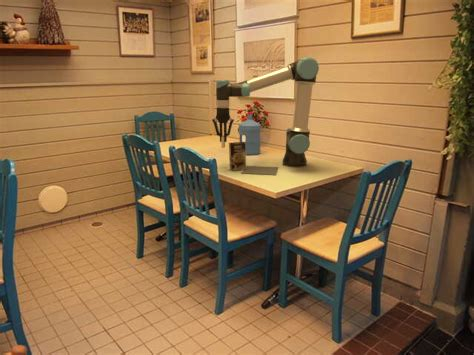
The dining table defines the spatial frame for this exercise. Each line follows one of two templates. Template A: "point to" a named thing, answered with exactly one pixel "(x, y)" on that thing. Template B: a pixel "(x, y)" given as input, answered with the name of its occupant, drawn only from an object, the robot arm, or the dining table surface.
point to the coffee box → (237, 156)
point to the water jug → (251, 135)
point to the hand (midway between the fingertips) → (223, 147)
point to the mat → (260, 170)
